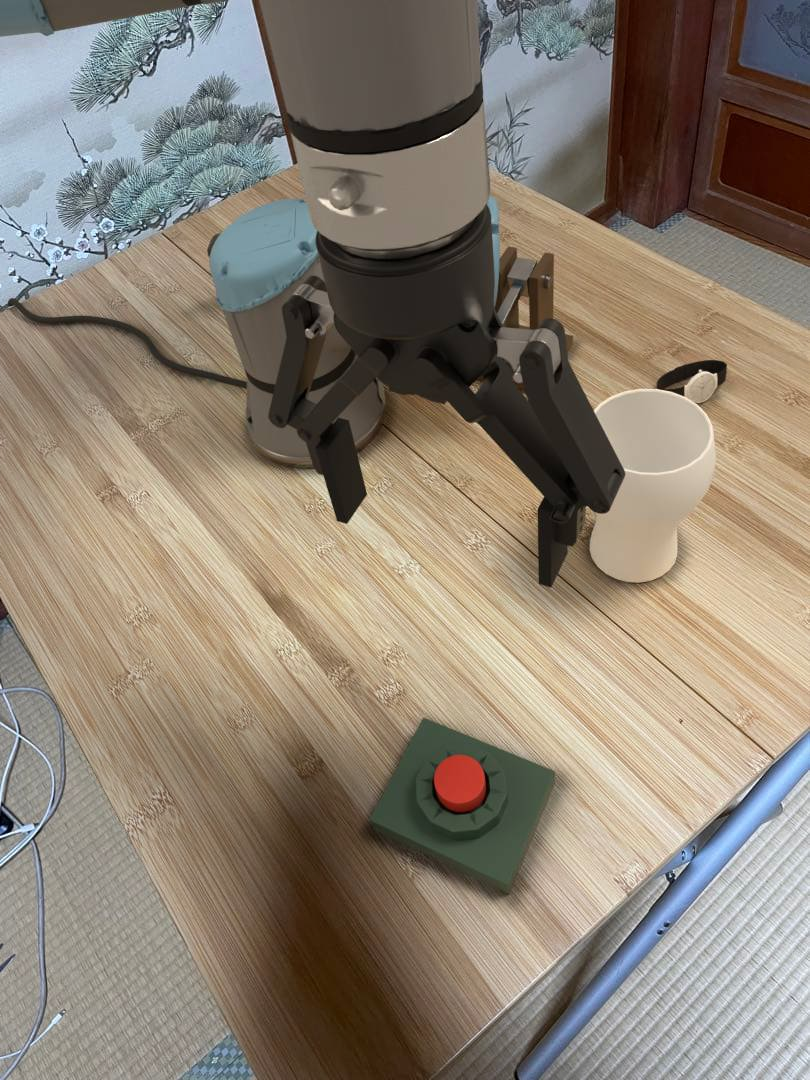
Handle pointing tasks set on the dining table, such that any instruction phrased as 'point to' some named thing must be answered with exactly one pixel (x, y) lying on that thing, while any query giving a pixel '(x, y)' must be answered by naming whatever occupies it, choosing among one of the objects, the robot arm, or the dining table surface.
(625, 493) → the cup
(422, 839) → the button box
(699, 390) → the watch
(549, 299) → the bracket
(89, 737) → the dining table surface
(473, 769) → the button
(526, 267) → the lever
